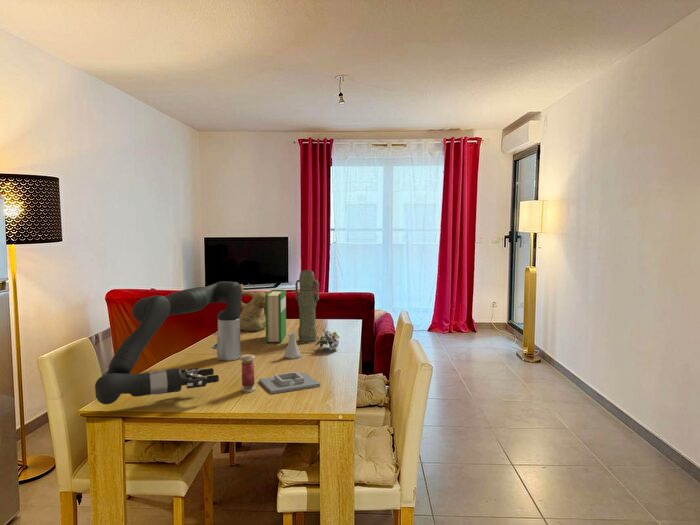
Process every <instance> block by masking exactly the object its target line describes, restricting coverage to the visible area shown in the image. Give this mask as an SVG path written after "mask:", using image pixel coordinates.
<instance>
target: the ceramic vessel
mask: <svg viewBox="0 0 700 525" xmlns="http://www.w3.org/2000/svg"><path fill="white" fill-rule="evenodd" d="M239 284H240V283H239ZM243 285H244V284H243V283H241V284H240V286H241V290H242V297H245V296H248V297H251V298H252V299H251V300H250V301H249V302H247V303H245V302H243V301H242V300H241V313H240V331H243V330H244V331H245V332H259V331H261V329H262V330H263V329H266V314H265V294H267V292H265V291H262V290H259V291H257V292H254V291H249V290H244V286H243ZM244 331H243V332H244Z"/></svg>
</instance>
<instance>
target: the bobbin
mask: <svg viewBox="0 0 700 525" xmlns="http://www.w3.org/2000/svg"><path fill="white" fill-rule="evenodd" d="M239 359H240V361H241V387H240V391H241V393H245V394H246V393H248V394H249V393H253V392H256V390H257V389H256V388H257V387H256V386H255V360H256V355H255V354H242V355H241V356H240V358H239Z"/></svg>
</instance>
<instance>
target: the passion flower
mask: <svg viewBox="0 0 700 525" xmlns="http://www.w3.org/2000/svg"><path fill="white" fill-rule="evenodd" d="M322 332H323V333H324V335H321V337H320V338H319V336H318V335H317V336H316V340H318V341H316V342H315V346H316V347H317V346H318V345H319V346H318V348H319V349H318V350H319V351H320V350H321V348H322V347H323V345H325V346H326V345H329V348H331V349H332V351H333V352H337V351H338V347H339V344H340V343H339V342H340V341H339V339H340V336H339V335H338V333H337V331H333V332H331V331H328V330H325V329H322Z"/></svg>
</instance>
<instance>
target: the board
mask: <svg viewBox="0 0 700 525" xmlns="http://www.w3.org/2000/svg"><path fill="white" fill-rule="evenodd" d="M258 382H259V383H260V385H262V386H263V388H265V389H266V390H267V391H268V392H269V393H270V394H271V395H274V394H280V393H287V392H292V391H299V390H306V389H312V388H319V387H321V382H319V381H318V380H316V379H315V378H313V377H312V376H310V375H309V374H307V373H306V372H298V371H292V372H286V373H277V374H274V376H271V377H263V378H258Z"/></svg>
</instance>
